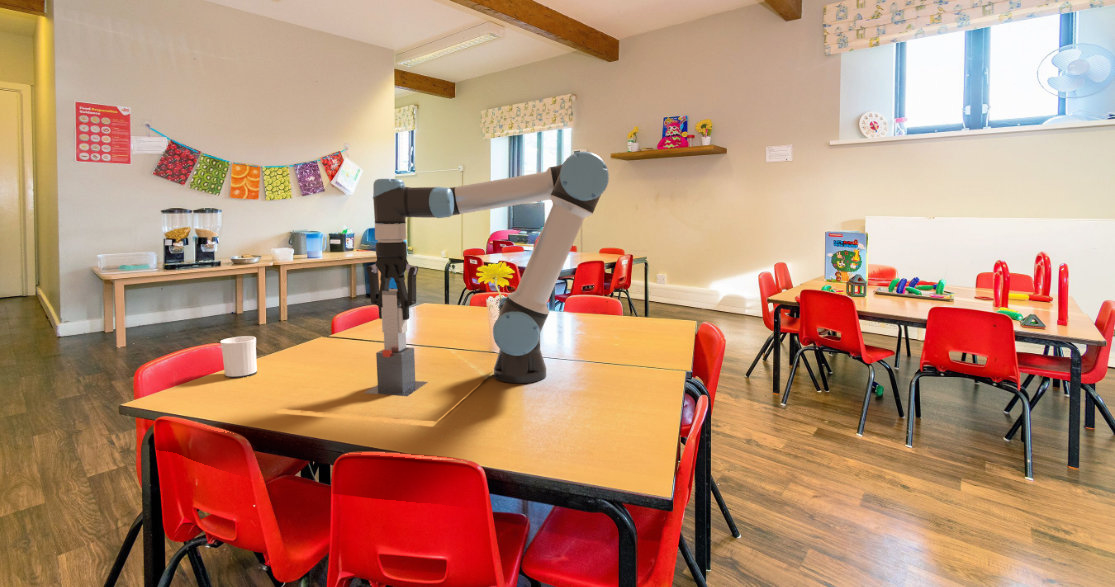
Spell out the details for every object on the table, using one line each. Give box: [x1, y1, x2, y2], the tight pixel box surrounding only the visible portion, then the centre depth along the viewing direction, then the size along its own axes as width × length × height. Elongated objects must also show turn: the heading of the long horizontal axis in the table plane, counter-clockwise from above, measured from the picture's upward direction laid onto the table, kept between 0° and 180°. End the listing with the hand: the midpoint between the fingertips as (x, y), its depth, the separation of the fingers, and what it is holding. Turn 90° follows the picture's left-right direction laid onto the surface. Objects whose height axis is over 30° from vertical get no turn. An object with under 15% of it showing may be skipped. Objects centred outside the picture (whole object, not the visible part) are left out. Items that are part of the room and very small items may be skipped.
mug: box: [219, 335, 258, 379], centre depth 157 cm, size 11×9×10 cm
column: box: [382, 288, 407, 353], centre depth 141 cm, size 4×4×23 cm
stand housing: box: [364, 346, 429, 397], centre depth 142 cm, size 12×12×12 cm
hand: (394, 331), depth 141 cm, fingers closed on column, 4 cm apart
